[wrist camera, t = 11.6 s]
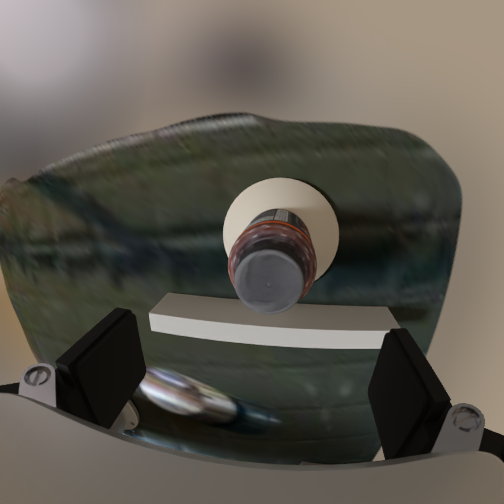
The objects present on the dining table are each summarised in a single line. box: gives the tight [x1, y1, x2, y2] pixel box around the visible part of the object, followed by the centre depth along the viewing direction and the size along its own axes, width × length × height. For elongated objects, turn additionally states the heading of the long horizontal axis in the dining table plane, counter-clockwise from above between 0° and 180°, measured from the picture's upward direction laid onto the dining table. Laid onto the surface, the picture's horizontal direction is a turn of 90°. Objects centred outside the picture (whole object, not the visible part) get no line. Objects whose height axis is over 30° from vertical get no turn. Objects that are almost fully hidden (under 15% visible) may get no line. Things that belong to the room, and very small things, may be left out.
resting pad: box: [223, 178, 339, 281], centre depth 27 cm, size 11×11×1 cm
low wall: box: [149, 293, 400, 349], centre depth 27 cm, size 2×24×5 cm, turn 89°
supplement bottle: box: [228, 209, 317, 314], centre depth 21 cm, size 6×6×11 cm
